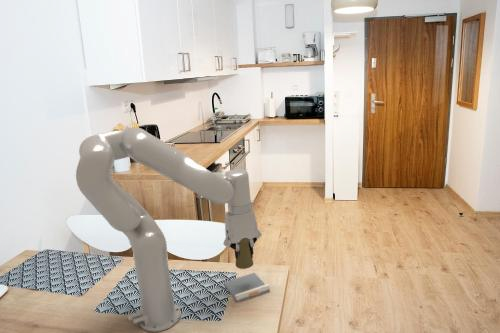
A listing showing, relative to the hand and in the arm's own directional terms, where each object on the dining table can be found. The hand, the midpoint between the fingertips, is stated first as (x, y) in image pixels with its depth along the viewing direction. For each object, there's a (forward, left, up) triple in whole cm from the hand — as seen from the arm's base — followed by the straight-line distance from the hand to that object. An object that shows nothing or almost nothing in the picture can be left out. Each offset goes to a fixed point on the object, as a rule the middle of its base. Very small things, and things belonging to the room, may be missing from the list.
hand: (244, 257), depth 132 cm
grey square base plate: (0, 0, -12) cm, 12 cm away
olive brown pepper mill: (0, 0, -2) cm, 2 cm away
